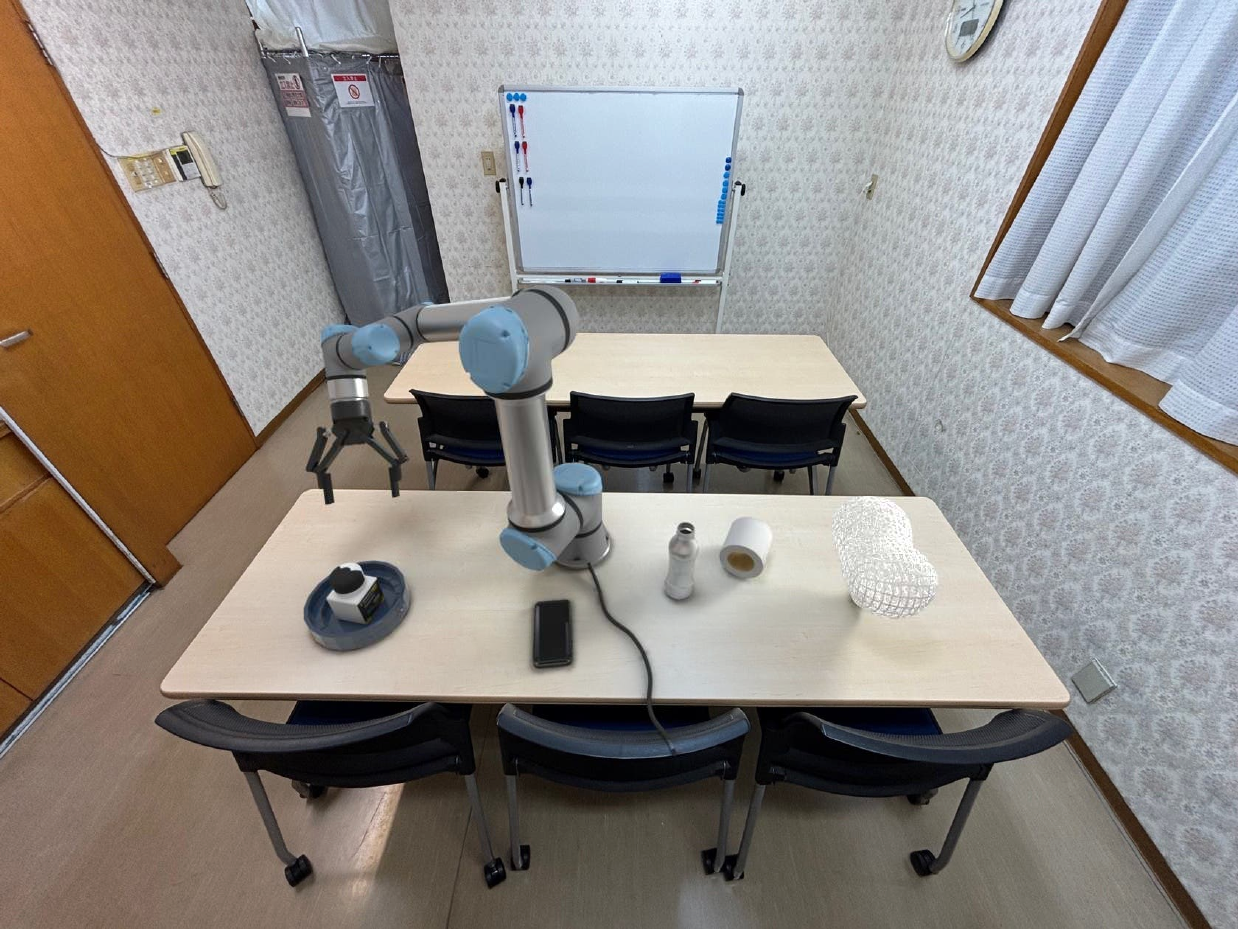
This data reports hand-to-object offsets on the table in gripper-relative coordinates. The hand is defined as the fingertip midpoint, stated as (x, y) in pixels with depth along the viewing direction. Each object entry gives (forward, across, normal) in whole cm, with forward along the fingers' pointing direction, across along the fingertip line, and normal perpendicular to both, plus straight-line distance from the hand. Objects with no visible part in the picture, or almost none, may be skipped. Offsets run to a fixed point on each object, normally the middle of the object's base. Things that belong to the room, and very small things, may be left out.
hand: (363, 500), depth 109 cm
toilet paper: (+24, -84, -2) cm, 87 cm away
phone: (+31, -38, +10) cm, 50 cm away
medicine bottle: (+23, +3, +1) cm, 23 cm away
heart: (+33, -105, +10) cm, 111 cm away
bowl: (+24, +3, +1) cm, 24 cm away
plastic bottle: (+28, -66, +4) cm, 72 cm away
